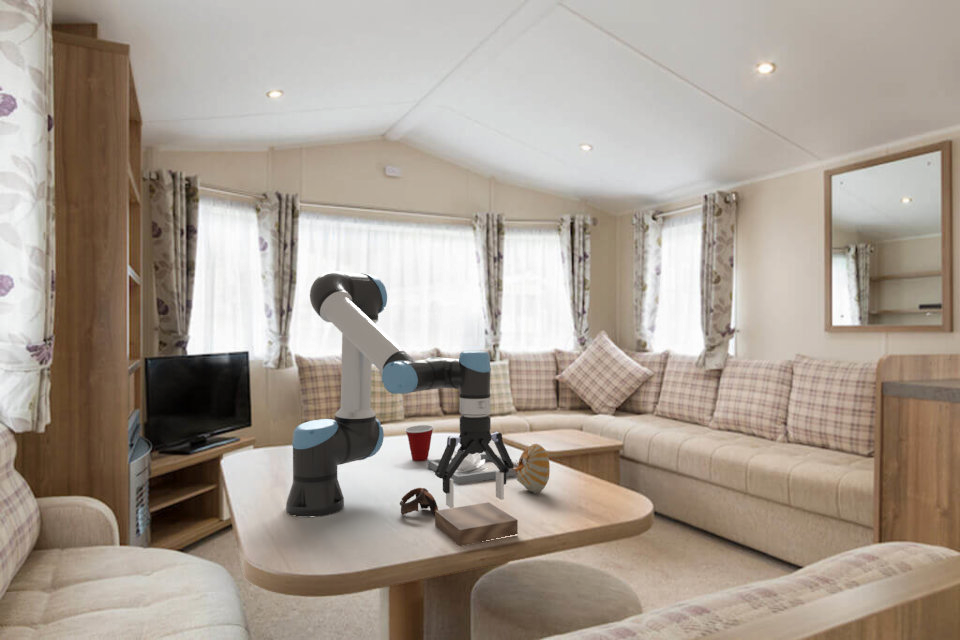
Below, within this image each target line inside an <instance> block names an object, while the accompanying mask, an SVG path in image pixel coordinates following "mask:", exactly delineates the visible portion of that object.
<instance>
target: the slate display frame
mask: <svg viewBox="0 0 960 640" xmlns="http://www.w3.org/2000/svg"><path fill="white" fill-rule="evenodd" d="M480 455H481V460H483V459H485V462H490V461H491V462H492V460H491V459H490V458H489V457H488V456H487V454H486V453H485V452H484V453H480ZM496 455H497V457H498V458H499V459H500V460H501V461H502V463H503V460H502V458H501V456H500V455H498V454H496ZM454 457H455V456H452V459H453V458H454ZM452 459H451V461H452ZM427 460H428V459H427ZM440 460H441V458H438V459H436V458H435V459H429V460H428V461H427V468H428V469H430V470H432V471H433V472H434V473H435V472H436V469H437V467H438V465H439V462H440ZM512 462H513V464H514V465H515V466H516V465H517V466H516V467H515V466H514V467H513V469H516V468H517V467H518V464H517V462H516V463H515V461H512ZM503 464H504V463H503ZM513 469H509V472H508V473H506V478H510V477H509V476H513V477H517V476H516V475H517V474H515V473H517V472H515V471H514V470H513ZM496 471H499V469H496V470H486V471H485V472H480V473H473V474H465V475H458V474H456V473H454V474H453V475H452V477H451V479H453V480H454V484H456V485H460V484H461V485H462V484H469V483H470V482H471V483H476V481H479V482H484V481H483V480H486V481H490V480H489V479H493V480H496Z"/></svg>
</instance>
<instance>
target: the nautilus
mask: <svg viewBox="0 0 960 640" xmlns="http://www.w3.org/2000/svg"><path fill="white" fill-rule="evenodd" d="M510 459H511V458H510ZM511 461H512V459H511ZM515 461H516V462H515ZM515 461H512V463H513V462H515V463H517V464H518V467H517V468H516V469H513V468H512V469H513V470H514V471H515V472H517V473H515V474H517V476H516V481H517V482H519V484H520V485H522V486H523V487H524V488H525V489H526V490H528V491H529V492H531V491H532V493H534V492H536V493H535V494H538V493H541V492H542V491H543V490H544V489H545V488H546V485H548V481H549V479H550V471H551V469H550V466H551V465H550V458H549V453H548V452H547V451H546V449H545V448H544V447H543V446H542V445H541V444H539V443H533V444H531V445H530V446H528V447H527V448H525V450H523V451H522V453H521V455H520V457H519V459H518V460H517V459H515ZM513 465H514V464H513ZM514 466H515V465H514ZM516 466H517V465H516ZM516 466H515V467H516Z"/></svg>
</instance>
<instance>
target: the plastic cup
mask: <svg viewBox="0 0 960 640" xmlns="http://www.w3.org/2000/svg"><path fill="white" fill-rule="evenodd" d="M434 428H435V427H434V425H429V424H422V425H412V426H409V427H405V428H404V431H405V433H406V436H407V439H408V444H409V449H410V455H411V460H412V461H415V462H423V461H427V460H428V459H429V453H430V448H431V441H432V436H433V430H434Z"/></svg>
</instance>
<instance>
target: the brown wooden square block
mask: <svg viewBox="0 0 960 640" xmlns="http://www.w3.org/2000/svg"><path fill="white" fill-rule="evenodd" d="M434 516H435V517H434V526H435V527H436V528H437V529H438V530H439V531H441V532H442V533H443V534H444V535H446V537H448V538H449V539H450V540H451V541H453V543H455V542H456V543H455V544H456V545H458V546H459V547H463V546H462V545H464V546H468V545H467V544H470V545H473V544H472V543H476V544H479V543H478V542H481V543H483V542H482V541H486V540H491V539H496V538H501V537H505V536H510V535H515V534H519V533H518V530H519V529H518V528H519V527H518V519H517V518H516V517H514V516H512V515H510V514H509V513H507V512H505V511H504V510H502V509H501V508H499V507H497V506H496V505H494V504H492V503H491V502H483V503H476V504H470V505H465V506H457V507H454V508H450V507H449V508H445V509H438V510H437V511H435V512H434Z"/></svg>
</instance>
